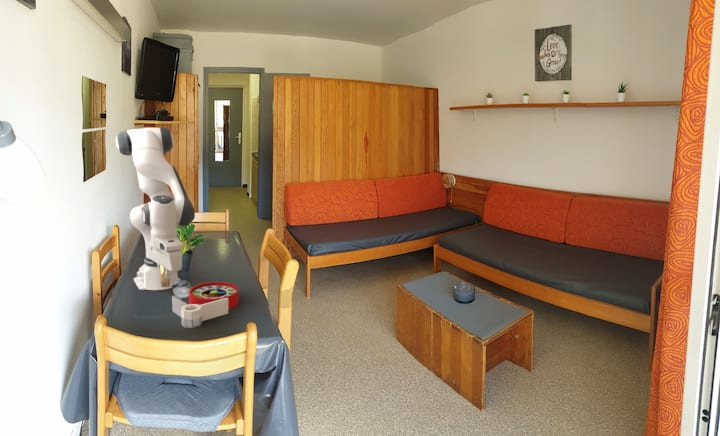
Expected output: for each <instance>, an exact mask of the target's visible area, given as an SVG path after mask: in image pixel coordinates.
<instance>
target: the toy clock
mask: <svg viewBox="0 0 720 436" xmlns="http://www.w3.org/2000/svg"><path fill="white" fill-rule="evenodd" d="M224 298H228V310H231V309H233V308H235V307H236V306H237V305H239V287H238V286H237V285H236V284H233V283H229V282H221V281H213V282H212V281H211V282H204V283H200V284H198V285H197V284H196V285H195V286H192V287H191V288H190V289H189V290H188V305H189V304H199V305H202V304H205V303H209V302H213V301H216V300H220V299H224Z"/></svg>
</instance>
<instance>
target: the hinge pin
mask: <svg viewBox="0 0 720 436" xmlns="http://www.w3.org/2000/svg"><path fill="white" fill-rule="evenodd" d="M160 270H161V286H162V287H168V286H170V279H166V278H165V277H164V274H165V273H166V270H165V268H164V267H163V266H161V265H160Z"/></svg>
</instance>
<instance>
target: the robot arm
mask: <svg viewBox="0 0 720 436" xmlns="http://www.w3.org/2000/svg"><path fill="white" fill-rule="evenodd" d="M174 139H175V138H174V134H173V133H172V132H171V129H169V128H168V127H165V126H164V127H163V126H160V127H142V128H133V129H128V130H127V129H124V130H121V131H120V130H119V131H118V133H117V134H116V138H115V146H116V148H117V150H118V151H119V153H120V154H121V155H123V156H129V157H130V156H132V161H133V164H134V167H135V171H136V174H137V175H136V176H137V182H138V187H139V190H140V191H141V192H142V193H143V194H146V195H148V197H149V198H150V201H149V202H146V203H142V204H139V205H137V206H135V207H133V208H132V209H131V211H130V213H129V221H130V223H131V225H132V226H133V227H134V228H135V229H137V230H138V231H140V233H141V234H142V236H143V239H144V244H145V245H144V246H145V247H144V248H145V255H144V256H145V257H144V260H143V261H144V263H143V264H142V265H141V266H140V267H139V268H138V271H137V272H136V277H133V281H134V283H135V285H136V287H137V288H138V290H140V291H143V290H144V291H145V290H148V291H165V290H169V289H172V288H173V287H172V286H173V284H174V283H175V282H176V281H178V280H181V278H180V277H179V276H178V272H180V271H181V270H182V268H183V252H182V250H183V248H184V244H183V242H182V241H181V240H180V238H179V236H178V231H177V226H178V227H187V226H189V225H190V224H191V223H192V222H194V220H195V218H196V213H195V212H196V211H195V208H194V205H193V203H192V202H191V201H192V200H190V198H189V196H188V194H187V193H188V192H187V191H186V189H185V186H184V183H183V182H182V179H181V177H180V175H179V172H178V170H177V169H176V167H175V166H174V165H172V164H171V163H169V162H168V161H167V160H166V158H165V155H166V154H167V153H168V152H170V151H171V150H172V149H173V146H174V143H175V140H174ZM168 186H169V187H170V189H169V187H168ZM170 190H171V192H172V193H171V192H170ZM172 194H173V195H172ZM160 265H161V266H163V267H164V268H165V270H166V273H165V274H164V277H165V278H166V279H170V286H168V287H162V286H161V270H160Z"/></svg>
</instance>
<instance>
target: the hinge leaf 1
mask: <svg viewBox="0 0 720 436" xmlns="http://www.w3.org/2000/svg"><path fill="white" fill-rule="evenodd" d="M171 305H172V306H171V307H172V309H171V310H172V313H174V314H176V315H177V316H178V317H180V319H181V320H180V321H181V323H180V324H181V325H180V326H182V327H183V328H187V329H195V328H197V327H200V326H201V325H202V323H203V321H202V315H201V317H200V318H197V319H194V320H193V319H192V320H185V319H183V318H182V317H181V308H182V307H183V306H185V305H189V303H186V302H185V301H183V300H182V299H181V298H179V297H177V296H176V295H172V296H171Z"/></svg>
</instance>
